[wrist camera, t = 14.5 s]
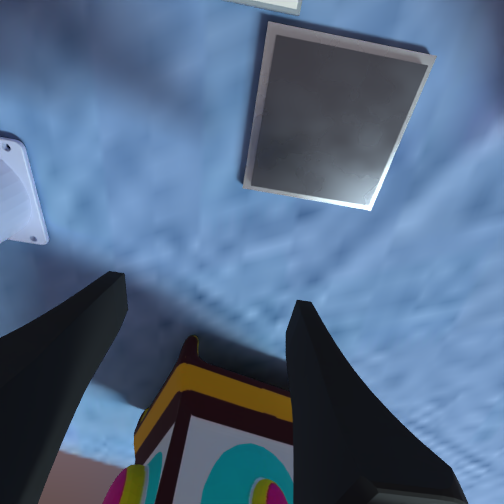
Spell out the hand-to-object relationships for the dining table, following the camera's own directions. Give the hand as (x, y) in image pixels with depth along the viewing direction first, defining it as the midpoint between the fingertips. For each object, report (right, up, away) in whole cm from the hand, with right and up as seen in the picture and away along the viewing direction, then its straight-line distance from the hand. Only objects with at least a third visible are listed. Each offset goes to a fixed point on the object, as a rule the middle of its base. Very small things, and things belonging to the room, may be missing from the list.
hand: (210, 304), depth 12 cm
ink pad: (+6, +10, +6) cm, 13 cm away
